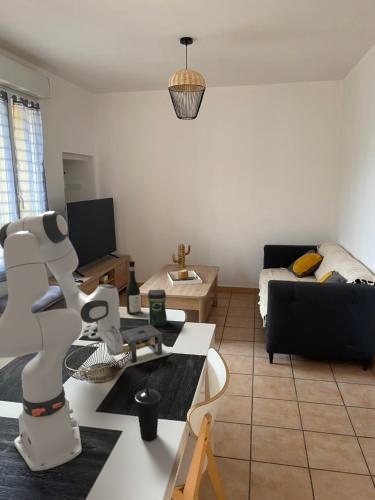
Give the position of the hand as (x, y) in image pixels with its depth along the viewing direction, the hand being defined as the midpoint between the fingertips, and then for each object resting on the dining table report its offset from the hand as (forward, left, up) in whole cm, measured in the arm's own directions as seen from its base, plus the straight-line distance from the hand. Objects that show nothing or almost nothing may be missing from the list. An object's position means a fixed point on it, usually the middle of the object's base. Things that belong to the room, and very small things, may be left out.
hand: (110, 353), depth 157 cm
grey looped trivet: (+36, -8, -5) cm, 37 cm away
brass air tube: (0, -12, -1) cm, 12 cm away
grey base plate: (0, -14, -5) cm, 15 cm away
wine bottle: (+50, -32, -5) cm, 59 cm away
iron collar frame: (0, -14, -5) cm, 15 cm away
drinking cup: (-48, +6, -5) cm, 49 cm away
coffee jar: (+28, -36, -5) cm, 46 cm away
